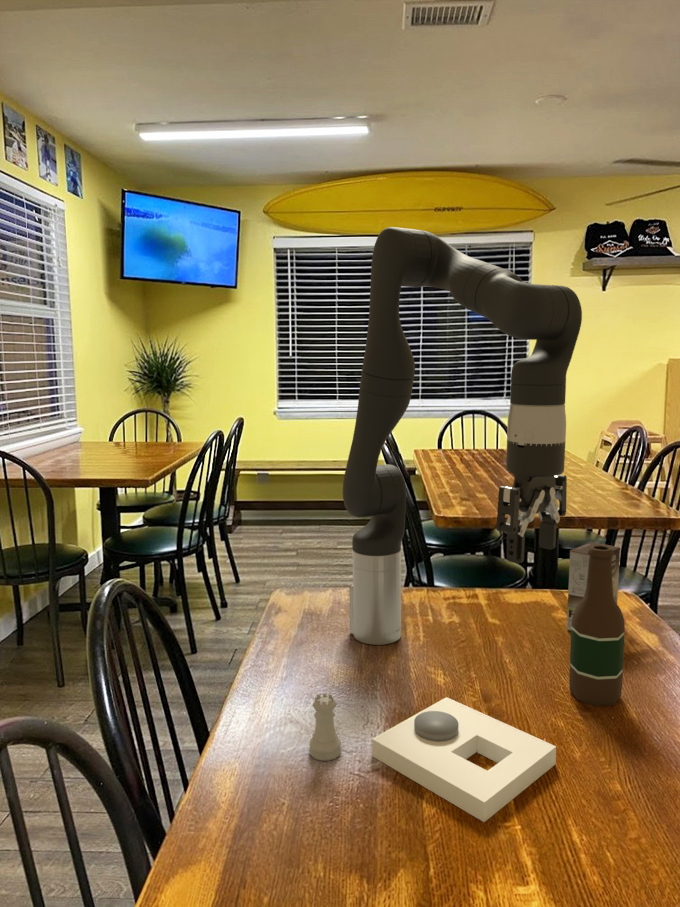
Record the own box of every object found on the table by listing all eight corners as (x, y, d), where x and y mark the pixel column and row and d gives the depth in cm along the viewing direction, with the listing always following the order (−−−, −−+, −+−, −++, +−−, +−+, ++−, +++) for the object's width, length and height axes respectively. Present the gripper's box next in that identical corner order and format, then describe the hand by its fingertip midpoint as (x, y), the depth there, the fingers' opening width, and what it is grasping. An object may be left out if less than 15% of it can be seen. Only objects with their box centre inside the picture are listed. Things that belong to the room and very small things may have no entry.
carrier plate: (372, 756, 90) (372, 731, 89) (446, 712, 100) (446, 690, 100) (484, 822, 76) (484, 794, 76) (555, 764, 87) (556, 739, 87)
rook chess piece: (338, 764, 88) (337, 707, 87) (305, 760, 89) (304, 704, 88) (344, 745, 92) (343, 691, 91) (313, 742, 93) (312, 688, 92)
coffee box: (597, 639, 126) (601, 556, 124) (565, 629, 130) (568, 550, 128) (617, 624, 132) (621, 546, 130) (586, 616, 137) (589, 540, 135)
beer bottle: (597, 712, 100) (603, 557, 96) (558, 690, 107) (563, 545, 103) (632, 699, 103) (640, 550, 100) (592, 679, 110) (598, 538, 107)
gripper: (537, 431, 96) (533, 539, 99) (481, 440, 87) (478, 560, 89) (587, 435, 91) (581, 549, 94) (534, 445, 81) (529, 573, 84)
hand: (531, 554), depth 91 cm, fingers open, 8 cm apart
